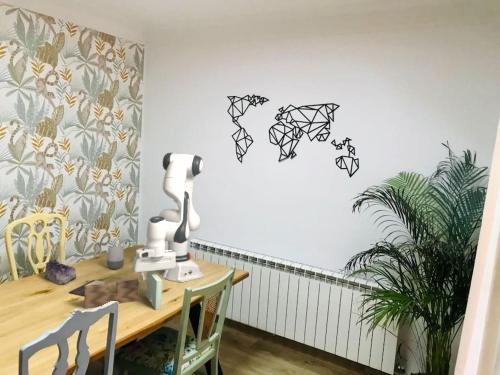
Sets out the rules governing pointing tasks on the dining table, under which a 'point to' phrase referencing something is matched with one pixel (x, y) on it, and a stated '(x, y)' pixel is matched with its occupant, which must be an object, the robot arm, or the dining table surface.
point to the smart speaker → (115, 258)
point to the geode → (59, 272)
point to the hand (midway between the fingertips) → (154, 278)
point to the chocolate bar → (81, 289)
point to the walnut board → (100, 295)
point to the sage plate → (154, 289)
